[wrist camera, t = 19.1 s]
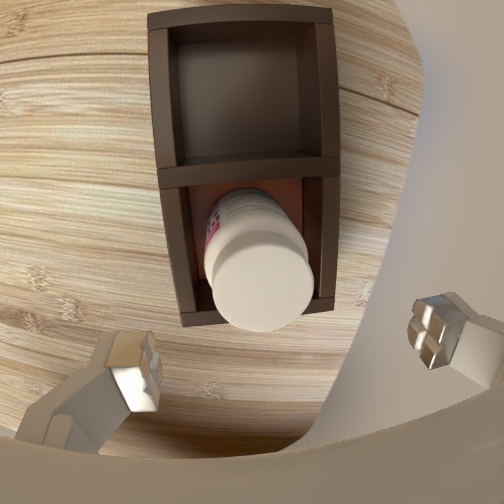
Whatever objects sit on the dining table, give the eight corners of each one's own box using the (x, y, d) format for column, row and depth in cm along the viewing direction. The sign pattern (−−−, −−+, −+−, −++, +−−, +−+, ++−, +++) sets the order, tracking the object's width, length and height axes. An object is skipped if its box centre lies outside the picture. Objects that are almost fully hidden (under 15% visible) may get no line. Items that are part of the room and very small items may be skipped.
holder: (161, 36, 16) (147, 13, 11) (307, 29, 16) (332, 8, 12) (187, 288, 22) (182, 327, 18) (313, 276, 23) (334, 310, 19)
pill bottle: (200, 192, 19) (190, 243, 11) (279, 180, 19) (322, 222, 11) (213, 264, 21) (215, 348, 13) (286, 252, 21) (325, 328, 13)
